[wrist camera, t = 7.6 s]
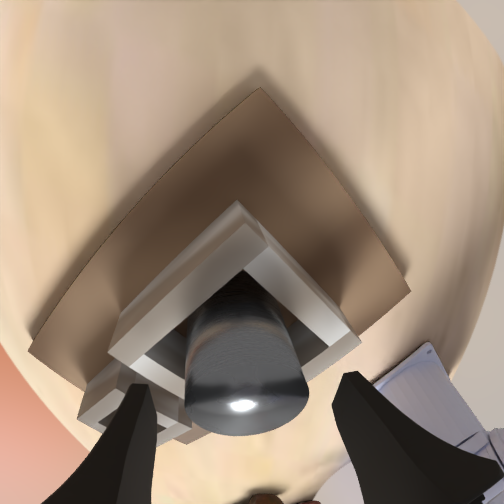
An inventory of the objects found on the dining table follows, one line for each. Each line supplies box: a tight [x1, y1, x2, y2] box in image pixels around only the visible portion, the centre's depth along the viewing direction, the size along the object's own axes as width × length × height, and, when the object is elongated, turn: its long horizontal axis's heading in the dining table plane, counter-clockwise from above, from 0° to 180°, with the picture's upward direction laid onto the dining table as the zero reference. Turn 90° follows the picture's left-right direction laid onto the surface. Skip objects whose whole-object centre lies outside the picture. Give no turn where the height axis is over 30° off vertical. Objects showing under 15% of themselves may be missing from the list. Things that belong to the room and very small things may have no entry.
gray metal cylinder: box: [184, 271, 309, 436], centre depth 12 cm, size 4×4×6 cm
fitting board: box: [28, 87, 411, 447], centre depth 15 cm, size 14×20×4 cm
